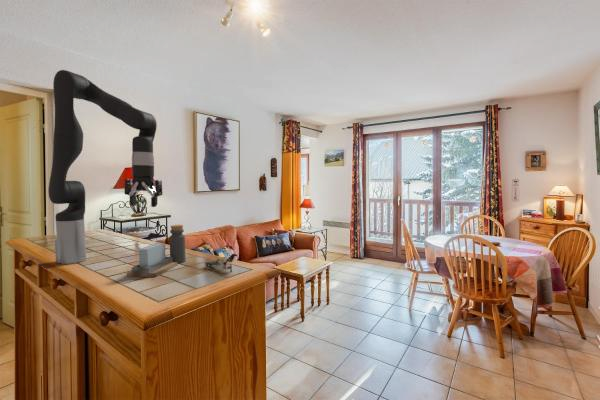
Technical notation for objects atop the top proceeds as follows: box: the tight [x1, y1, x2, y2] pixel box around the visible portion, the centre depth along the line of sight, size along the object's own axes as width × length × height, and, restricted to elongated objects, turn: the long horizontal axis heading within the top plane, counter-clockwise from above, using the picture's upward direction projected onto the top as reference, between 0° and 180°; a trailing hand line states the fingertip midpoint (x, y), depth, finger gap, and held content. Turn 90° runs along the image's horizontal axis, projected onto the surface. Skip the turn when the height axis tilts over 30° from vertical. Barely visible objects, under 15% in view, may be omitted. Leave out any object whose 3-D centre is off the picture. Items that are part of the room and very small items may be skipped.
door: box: [138, 242, 167, 267], centre depth 110 cm, size 3×11×8 cm, turn 174°
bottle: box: [169, 224, 187, 265], centre depth 122 cm, size 6×6×15 cm
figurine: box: [205, 253, 238, 273], centre depth 112 cm, size 6×4×15 cm
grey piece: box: [126, 256, 178, 278], centre depth 111 cm, size 11×15×3 cm
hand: (143, 206), depth 116 cm, fingers open, 8 cm apart
